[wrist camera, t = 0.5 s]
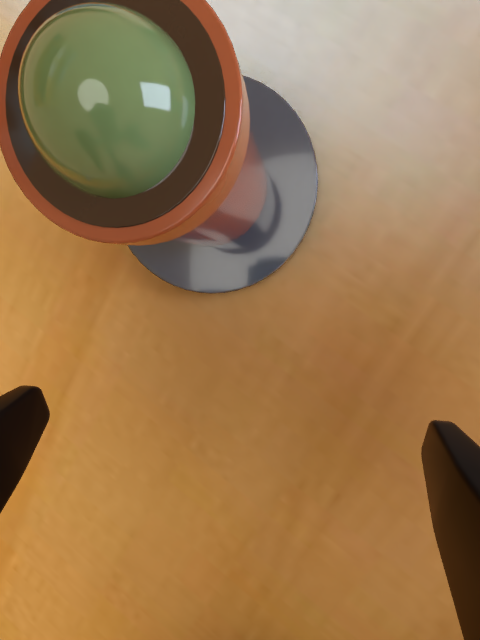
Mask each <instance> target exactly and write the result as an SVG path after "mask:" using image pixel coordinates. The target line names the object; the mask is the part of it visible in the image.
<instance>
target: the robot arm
mask: <svg viewBox="0 0 480 640" xmlns="http://www.w3.org/2000/svg"><path fill="white" fill-rule="evenodd" d="M49 416H50V412H49V408H48V406H47V403H46V401H45V398H44V395H43V393H42V391H41V389H40V388H39V387H36V386H20V387H17V388H15V389H14V390H12V391H10V392H8V393H6V394H4V395H2V396H0V513H1V511H2V510H3V508H4V506H5V505H6V503H7V501H8V500H9V498H10V496H11V495H12V493H13V491H14V490H15V488H16V486H17V484H18V483H19V481H20V479H21V477H22V475H23V473H24V471H25V469H26V467H27V465H28V463H29V461H30V459H31V457H32V455H33V452H34V450H35V448H36V446H37V444H38V442H39V440H40V438H41V436H42V434H43V431H44V429H45V427H46V425H47V423H48V421H49ZM421 454H422V463H423V469H424V475H425V481H426V487H427V493H428V499H429V506H430V512H431V518H432V523H433V529H434V533H435V537H436V541H437V544H438V548H439V552H440V555H441V559H442V562H443V566H444V569H445V573H446V576H447V580H448V584H449V587H450V591H451V594H452V598H453V601H454V605H455V609H456V612H457V616H458V619H459V623H460V626H461V630H462V633H463V637H464V640H480V447H479V446H478V445H477V444H476V443H475V442H474V441H473V440H472V439H471V438H470V437H468V436H467V435H466V434H465V433H464V432H463V431H462V430H461V429H460V428H459V427H458V426H457V425H455V424H454V423H452V422H449V421H437V420H434V421H431V422H430V423H429V426H428V429H427V432H426V435H425V439H424V442H423V445H422V452H421Z"/></svg>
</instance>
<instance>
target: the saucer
mask: <svg viewBox="0 0 480 640" xmlns="http://www.w3.org/2000/svg"><path fill="white" fill-rule="evenodd" d="M243 79H244V82H245V85H246V90H247V95H248V100H249V110H250V128H251V131H252V134H253V136H254V139H255V141H256V144H257V147H258V149H259V152H260V155H261V157H262V160H263V163H264V166H265V169H266V175H267V194H266V199H265V203H264V206H263V209H262V211H261V213H260V215H259V217H258V218H257V220H256V221H255V223H254V224H253V225H252V226H251V228H250V229H249V230H248V231H247V232H245V233H244V234H243V235H242V236H240V237H239V238H237V239H235V240H233V241H231V242H229V243H226V244H222V245H218V246H201V245H194V244H187V243H180V242H173V241H168V242H163V243H159V244H154V245H143V246H136V245H128V247H129V248H130V250H131V251H132V253H133V254H134V255H135V256H136V257H137V259H138V260H139V261H140V262H141V263H142V264H143V265H144V266H145V267H146V268H147V269H148V270H150V271H151V272H152V273H153V274H155V275H156V276H158V277H159V278H161V279H162V280H164V281H166V282H168V283H170V284H172V285H174V286H177V287H179V288H182V289H185V290H189V291H194V292H199V293H225V292H231V291H236V290H239V289H242V288H245V287H248V286H251V285H253V284H255V283H257V282H259V281H261V280H263V279H265V278H266V277H268V276H269V275H271V274H272V273H274V272H275V271H276V270H277V269H278V268H280V267H281V266H282V265H283V264H284V263H285V262H286V261H287V260H288V259H289V258H290V256H291V255H292V254H293V253H294V252H295V250H296V249H297V247H298V246H299V244H300V243H301V241H302V240H303V238H304V236H305V234H306V232H307V230H308V227H309V225H310V222H311V219H312V216H313V213H314V208H315V204H316V199H317V189H318V172H317V163H316V157H315V152H314V149H313V146H312V143H311V139H310V137H309V135H308V133H307V131H306V128H305V126H304V124H303V123H302V121H301V120H300V118H299V117H298V115H297V114H296V112H295V111H294V110H293V109H292V107H291V106H290V105H289V104H288V103H287V102H286V101H285V100H284V99H283V98H282V97H281V96H280V95H278V94H277V93H276V92H275V91H273V90H272V89H270V88H269V87H267V86H266V85H264V84H263V83H260V82H258V81H256V80H254V79H252V78H249V77H246V76H243Z"/></svg>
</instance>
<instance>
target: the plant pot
mask: <svg viewBox="0 0 480 640" xmlns="http://www.w3.org/2000/svg"><path fill="white" fill-rule="evenodd" d="M0 146H1V150H2V153H3V156H4V158H5V161H6V163H7V166H8V168H9V170H10V172H11V174H12V176H13V178H14V180H15V181H16V183H17V184H18V186H19V187H20V189H21V190H22V192H23V193H24V195H25V196H26V197H27V198H28V199H29V200H30V202H31V203H32V204H33V205H34V206H35V207H36V208H37V209H38V210H39V211H40V212H41V213H42V214H43V215H44V216H46V217H47V218H48V219H49V220H51V221H52V222H53V223H55V224H56V225H58V226H59V227H61V228H62V229H64V230H66V231H68V232H70V233H72V234H74V235H77V236H80V237H82V238H85V239H88V240H92V241H97V242H102V243H110V244H122V245H136V246H143V245H154V244H159V243H163V242H168V241H173V242H180V243H187V244H194V245H201V246H218V245H222V244H226V243H229V242H231V241H233V240H235V239H237V238H239V237H240V236H242V235H243V234H244V233H245V232H247V231H248V230H249V229H250V228H251V226H252V225H253V224H254V223H255V221H256V220H257V218H258V217H259V215H260V213H261V211H262V209H263V206H264V203H265V199H266V194H267V175H266V169H265V166H264V163H263V160H262V157H261V155H260V152H259V149H258V147H257V144H256V141H255V139H254V136H253V134H252V131H251V128H250V110H249V100H248V95H247V90H246V85H245V82H244V79H243V76H242V73H241V69H240V66H239V63H238V60H237V57H236V54H235V51H234V48H233V44H232V42H231V40H230V38H229V36H228V33H227V31H226V29H225V27H224V25H223V24H222V22H221V20H220V19H219V17H218V16H217V14H216V13H215V11H214V10H213V8H212V7H211V6H210V5H209V4H208V3H207V1H206V0H31V1H30V2H29V3H28V5H27V6H26V7H25V9H24V10H23V11H22V12H21V14H20V15H19V17H18V18H17V20H16V22H15V24H14V25H13V27H12V29H11V31H10V33H9V35H8V37H7V40H6V42H5V44H4V47H3V50H2V53H1V57H0Z"/></svg>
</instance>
